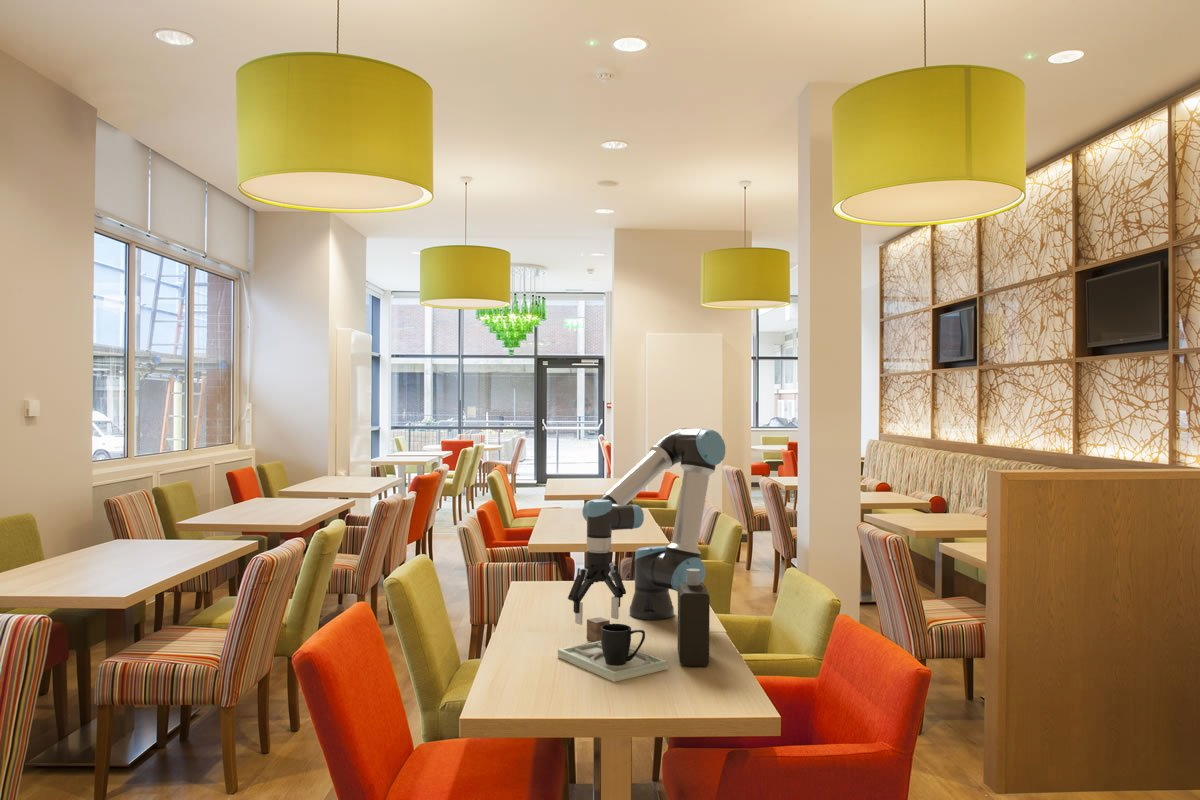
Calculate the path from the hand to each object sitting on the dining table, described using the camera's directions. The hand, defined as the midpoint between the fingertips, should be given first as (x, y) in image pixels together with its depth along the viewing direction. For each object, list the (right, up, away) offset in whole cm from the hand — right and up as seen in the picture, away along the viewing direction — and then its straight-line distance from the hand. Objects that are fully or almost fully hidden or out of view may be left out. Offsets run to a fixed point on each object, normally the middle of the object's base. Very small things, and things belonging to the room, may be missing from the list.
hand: (596, 621), depth 250 cm
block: (0, -6, 0) cm, 6 cm away
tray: (+4, -5, -23) cm, 24 cm away
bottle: (+27, -6, -19) cm, 33 cm away
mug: (+7, -4, -27) cm, 28 cm away
